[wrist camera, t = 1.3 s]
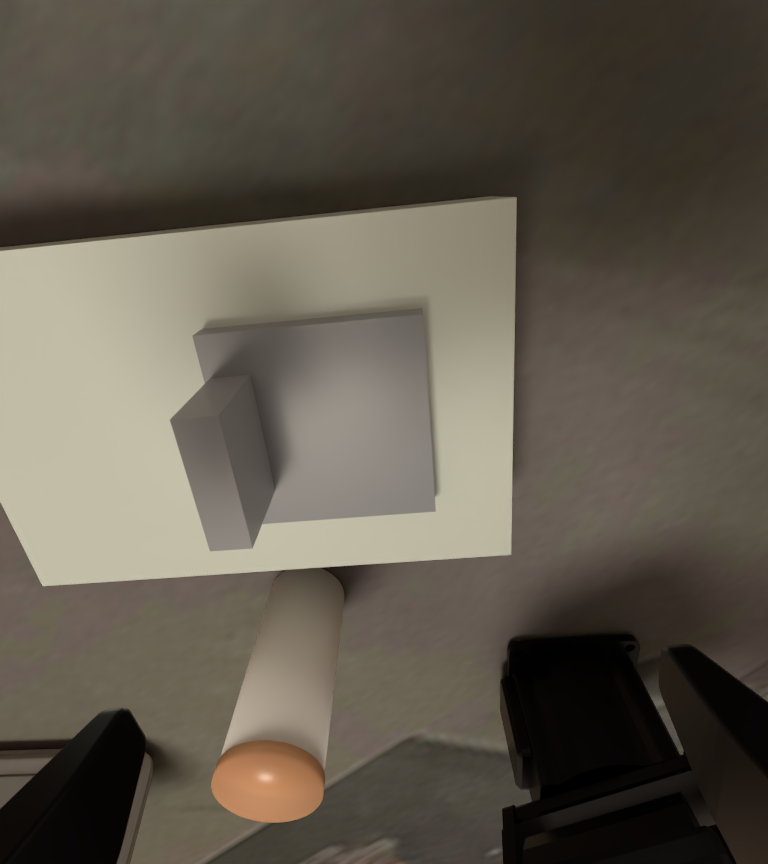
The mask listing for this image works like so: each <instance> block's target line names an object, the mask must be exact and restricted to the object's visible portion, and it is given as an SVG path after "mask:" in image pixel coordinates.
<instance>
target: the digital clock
mask: <svg viewBox="0 0 768 864" xmlns="http://www.w3.org/2000/svg"><path fill="white" fill-rule="evenodd" d="M60 750H61V749H41V750H8V751H0V808H1V807H2V806H3V805H4V804H5V803H7V802H8V801H9V800H10V799H11V798H12V797H13V796H14V795H15V794H16V793H17V792H18V791H19V790H20V789H21V788H22V787H23V786H24V785H25V784H26V783H27V782H28V781H29V780H30V779H31V778H32V777H33V776H34V775H36V774H37V773H38V772H39V771H40V770H41V769H42V768H43V767H44V766H45V765H46V764H47V763H48V762H49V761H50V760H51V759H52V758H53V757H54V756H55V755H56V754H57V753H58V752H59V751H60ZM152 774H153V761H152V758H151V756H149V755H148V754H147V753H146V752H145V756H144V760H143V764H142V768H141V772H140V776H139V780H138V784H137V789H136V793H135V797H134V801H133V805H132V809H131V813H130V817H129V821H128V825H127V829H126V833H125V837H124V841H123V844H122V848H121V852H120V855H119V858H118V861H117V864H130V862H131V858H132V854H133V850H134V846H135V842H136V838H137V834H138V831H139V827H140V823H141V819H142V815H143V811H144V807H145V804H146V800H147V796H148V792H149V788H150V784H151V779H152Z"/></svg>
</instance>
